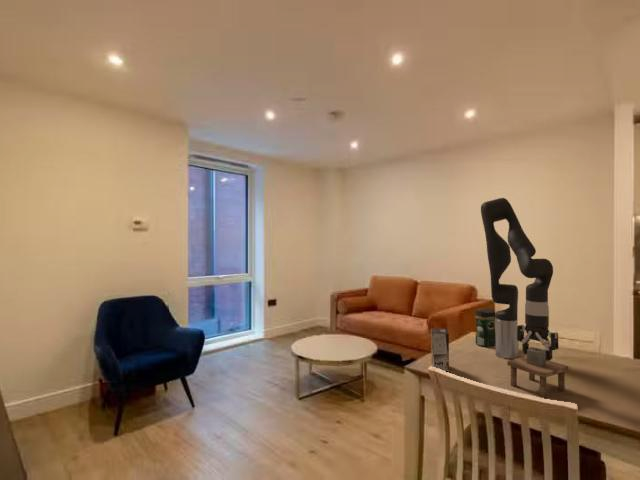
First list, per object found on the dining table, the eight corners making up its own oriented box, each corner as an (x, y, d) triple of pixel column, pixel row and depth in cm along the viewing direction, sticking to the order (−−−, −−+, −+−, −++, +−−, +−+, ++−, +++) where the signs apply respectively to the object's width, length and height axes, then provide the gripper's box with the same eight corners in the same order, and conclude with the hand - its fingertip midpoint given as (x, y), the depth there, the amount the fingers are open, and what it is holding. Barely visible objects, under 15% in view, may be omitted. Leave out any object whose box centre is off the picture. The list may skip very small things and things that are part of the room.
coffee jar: (486, 341, 192) (485, 306, 192) (498, 345, 185) (498, 309, 185) (472, 343, 188) (472, 308, 188) (484, 348, 181) (484, 311, 181)
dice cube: (546, 363, 135) (546, 349, 135) (542, 366, 131) (542, 353, 131) (531, 359, 138) (531, 346, 138) (527, 363, 135) (526, 350, 135)
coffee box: (449, 372, 151) (449, 333, 150) (433, 371, 152) (432, 333, 152) (446, 364, 160) (446, 328, 159) (431, 363, 161) (430, 327, 161)
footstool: (530, 377, 144) (530, 354, 144) (568, 390, 132) (568, 366, 132) (507, 384, 138) (507, 361, 138) (544, 399, 125) (544, 373, 125)
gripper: (512, 310, 139) (512, 353, 139) (550, 317, 126) (550, 364, 126) (524, 308, 142) (524, 349, 143) (563, 315, 130) (563, 360, 130)
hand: (537, 356), depth 134 cm, fingers open, 8 cm apart
